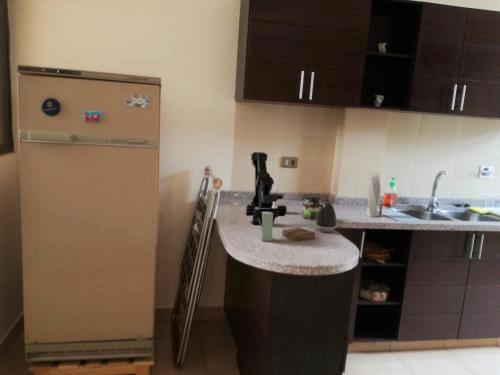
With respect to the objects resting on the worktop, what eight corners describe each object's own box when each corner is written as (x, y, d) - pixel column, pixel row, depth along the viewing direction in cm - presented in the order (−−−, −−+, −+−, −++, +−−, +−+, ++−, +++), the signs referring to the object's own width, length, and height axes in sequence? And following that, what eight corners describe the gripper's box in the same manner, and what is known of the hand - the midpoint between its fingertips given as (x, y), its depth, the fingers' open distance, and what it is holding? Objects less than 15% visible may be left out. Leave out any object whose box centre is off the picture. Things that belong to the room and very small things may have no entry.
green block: (260, 237, 180) (261, 211, 179) (270, 238, 181) (271, 211, 179) (262, 240, 176) (263, 213, 174) (271, 240, 176) (273, 213, 175)
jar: (281, 211, 246) (282, 193, 244) (284, 214, 238) (285, 195, 236) (267, 211, 245) (268, 192, 244) (269, 214, 237) (270, 194, 235)
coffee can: (313, 222, 219) (314, 197, 217) (298, 219, 226) (299, 195, 224) (323, 219, 227) (324, 196, 225) (308, 216, 234) (309, 193, 232)
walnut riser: (281, 237, 186) (282, 229, 186) (298, 234, 193) (299, 227, 192) (297, 242, 177) (298, 235, 177) (314, 239, 184) (315, 232, 183)
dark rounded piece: (314, 228, 205) (315, 200, 202) (333, 229, 204) (335, 201, 202) (316, 233, 194) (318, 203, 192) (337, 234, 194) (339, 204, 192)
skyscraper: (371, 218, 239) (374, 173, 235) (362, 215, 246) (366, 171, 242) (382, 217, 242) (385, 173, 238) (373, 215, 249) (377, 171, 245)
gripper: (247, 187, 178) (248, 216, 169) (287, 188, 180) (290, 216, 171) (245, 201, 187) (246, 229, 177) (283, 202, 189) (286, 229, 179)
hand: (267, 226), depth 176 cm, fingers closed on green block, 4 cm apart
